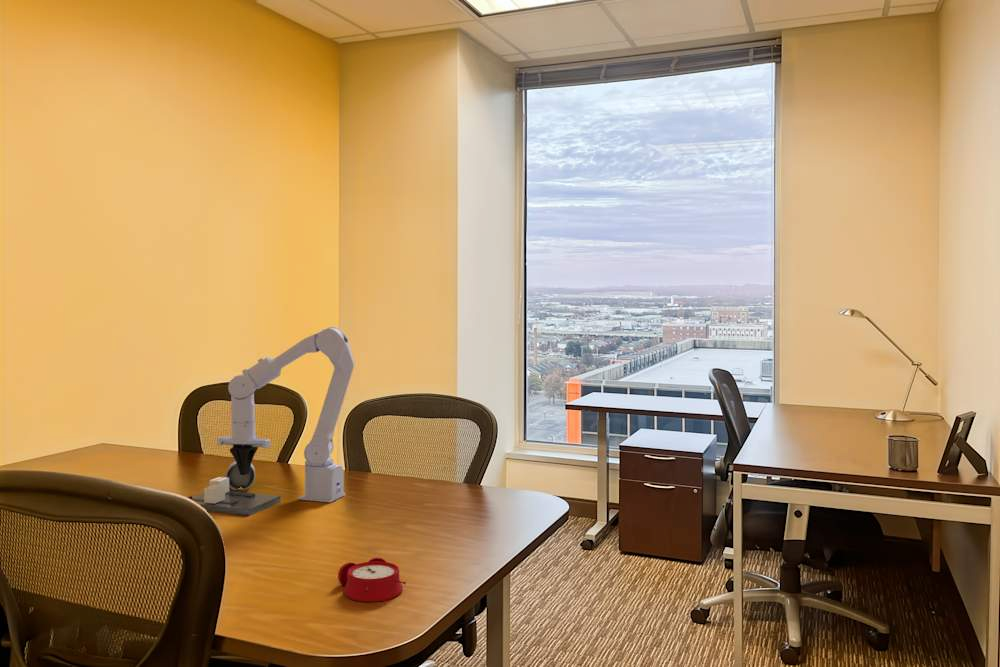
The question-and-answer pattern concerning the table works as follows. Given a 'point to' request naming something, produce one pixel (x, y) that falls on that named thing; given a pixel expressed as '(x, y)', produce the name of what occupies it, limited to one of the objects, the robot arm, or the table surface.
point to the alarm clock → (371, 580)
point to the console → (239, 502)
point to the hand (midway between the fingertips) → (244, 474)
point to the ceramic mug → (240, 477)
